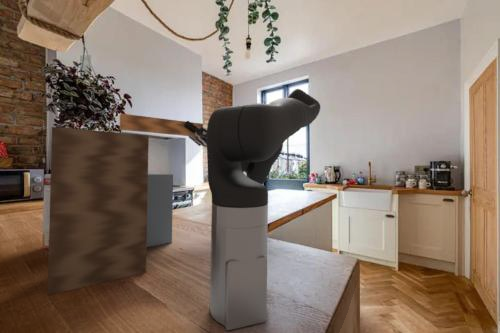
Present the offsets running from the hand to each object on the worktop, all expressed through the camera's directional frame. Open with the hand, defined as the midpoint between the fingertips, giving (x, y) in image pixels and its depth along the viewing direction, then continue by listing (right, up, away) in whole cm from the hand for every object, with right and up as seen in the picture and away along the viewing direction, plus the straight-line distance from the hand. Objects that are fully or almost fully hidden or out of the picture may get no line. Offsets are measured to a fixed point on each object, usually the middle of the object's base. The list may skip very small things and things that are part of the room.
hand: (183, 124), depth 73 cm
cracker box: (-29, -37, -9) cm, 48 cm away
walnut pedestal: (-10, -37, -25) cm, 46 cm away
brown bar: (-5, -3, -3) cm, 7 cm away
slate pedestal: (-12, -37, -5) cm, 39 cm away
